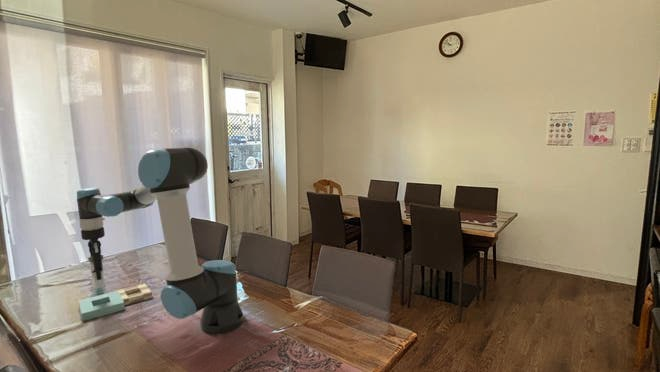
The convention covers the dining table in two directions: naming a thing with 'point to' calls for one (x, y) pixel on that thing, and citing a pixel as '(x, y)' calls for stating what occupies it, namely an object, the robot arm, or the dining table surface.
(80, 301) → the dock
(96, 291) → the pin
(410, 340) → the dining table surface
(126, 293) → the mount
